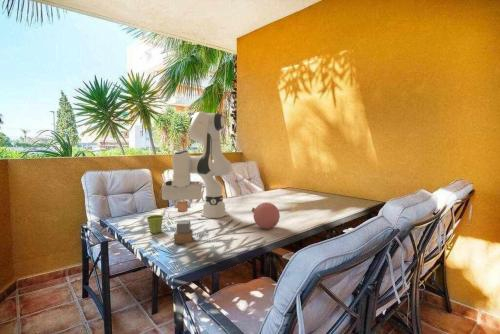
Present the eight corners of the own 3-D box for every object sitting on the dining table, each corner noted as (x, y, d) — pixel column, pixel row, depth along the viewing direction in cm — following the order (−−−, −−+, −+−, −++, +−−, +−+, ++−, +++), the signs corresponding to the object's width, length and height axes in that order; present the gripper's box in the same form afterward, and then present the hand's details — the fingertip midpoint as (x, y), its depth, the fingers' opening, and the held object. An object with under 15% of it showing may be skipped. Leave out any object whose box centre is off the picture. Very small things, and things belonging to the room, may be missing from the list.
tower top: (179, 230, 154) (178, 220, 154) (190, 229, 155) (190, 220, 154) (176, 233, 148) (176, 224, 148) (188, 233, 149) (188, 223, 148)
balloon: (262, 221, 186) (262, 198, 185) (285, 228, 170) (285, 203, 169) (243, 226, 176) (243, 201, 175) (265, 234, 161) (265, 206, 160)
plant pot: (146, 235, 161) (145, 219, 161) (147, 230, 170) (146, 215, 170) (164, 233, 164) (163, 218, 163) (164, 228, 173) (163, 214, 172)
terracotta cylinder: (178, 210, 153) (178, 200, 152) (188, 209, 153) (188, 200, 153) (176, 212, 148) (176, 202, 147) (186, 212, 148) (186, 202, 148)
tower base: (177, 238, 156) (177, 229, 155) (192, 238, 156) (192, 229, 156) (174, 243, 148) (174, 234, 148) (190, 243, 148) (189, 233, 148)
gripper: (202, 180, 153) (203, 206, 154) (163, 180, 152) (164, 206, 153) (201, 182, 146) (202, 209, 148) (160, 182, 146) (161, 209, 147)
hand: (182, 207), depth 150 cm, fingers closed on terracotta cylinder, 5 cm apart
